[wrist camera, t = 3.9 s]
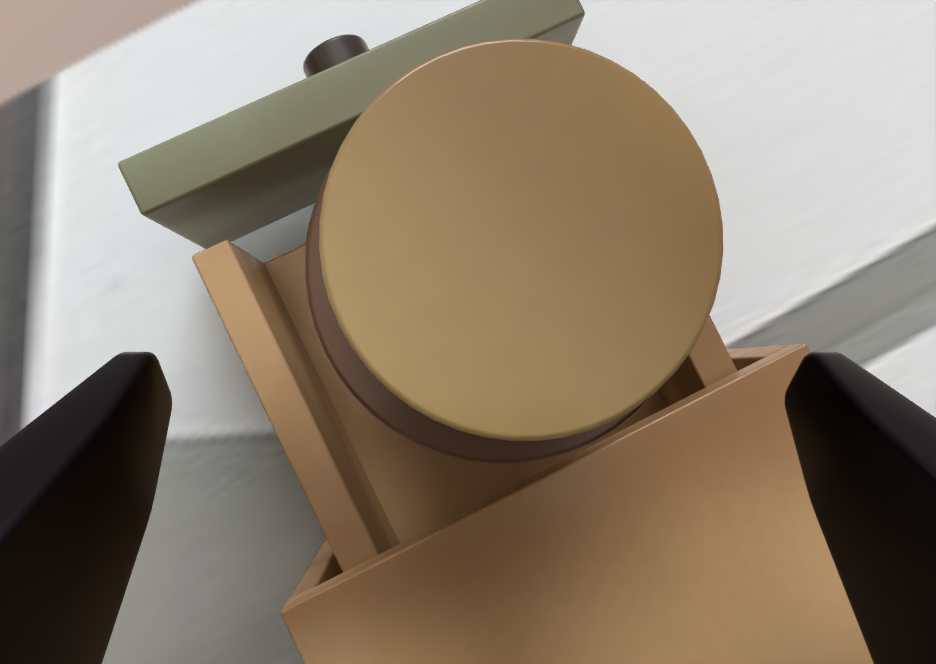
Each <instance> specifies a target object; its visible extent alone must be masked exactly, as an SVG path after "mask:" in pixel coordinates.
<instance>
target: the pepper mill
mask: <svg viewBox="0 0 936 664" xmlns="http://www.w3.org/2000/svg"><path fill="white" fill-rule="evenodd" d="M722 256H723V225H722V218H721V211H720V205H719V199H718V195H717V192H716V188H715V185H714V181H713V178H712V174H711V172H710V170H709V167H708V165H707V163H706V160H705V158H704V156H703V153H702V151H701V149H700V148H699V146H698V144H697V142H696V141H695V139H694V137H693V136H692V134H691V132H690V131H689V129H688V127H687V126H686V125H685V124H684V122H683V121H682V120H681V118H680V117H679V116H678V114H677V113H676V112H675V111H674V109H673V108H672V107H671V106H670V105H669V104H668V103H667V102H666V101H665V100H664V99H663V98H662V97H661V96H660V95H659V94H658V93H657V92H656V91H655V90H654V89H653V88H651V87H650V86H649V85H648V84H646V83H645V82H644V81H642V80H641V79H640V78H639V77H637V76H636V75H635V74H633V73H632V72H630V71H628V70H627V69H625V68H623V67H622V66H620V65H618V64H617V63H615V62H613V61H611V60H609V59H607V58H605V57H602V56H600V55H598V54H595V53H593V52H591V51H588V50H585V49H582V48H578V47H575V46H572V45H568V44H565V43H560V42H554V41H547V40H541V39H523V38H508V39H498V40H488V41H482V42H478V43H474V44H469V45H465V46H461V47H458V48H455V49H453V50H450V51H447V52H445V53H442V54H439V55H437V56H435V57H433V58H431V59H429V60H427V61H425V62H423V63H422V64H420V65H418V66H416V67H414V68H412V69H411V70H409V71H408V72H407V73H405V74H404V75H402V76H401V77H400V78H398V79H397V80H395V81H394V82H393V83H391V84H390V85H389V86H388V87H387V88H386V89H385V90H384V91H383V92H382V93H380V94H379V95H378V96H377V97H376V98H375V99H374V100H373V101H372V102H371V103H370V104H369V106H368V107H367V108H366V109H365V111H364V112H363V113H362V114H361V116H360V117H359V118H358V119H357V120H356V122H355V123H354V125H353V126H352V128H351V130H350V131H349V133H348V135H347V136H346V138H345V140H344V141H343V143H342V144H341V147H340V149H339V151H338V153H337V156H336V158H335V160H334V163H333V165H332V167H331V169H330V171H329V173H328V174H327V176H326V178H325V181H324V183H323V185H322V187H321V190H320V192H319V194H318V196H317V199H316V202H315V205H314V209H313V212H312V216H311V219H310V222H309V227H308V234H307V241H306V247H305V282H306V291H307V299H308V305H309V309H310V312H311V316H312V320H313V324H314V328H315V330H316V333H317V335H318V338H319V340H320V343H321V345H322V348H323V350H324V352H325V354H326V356H327V358H328V359H329V361H330V363H331V365H332V366H333V368H334V370H335V372H336V373H337V375H338V376H339V378H340V379H341V380H342V382H343V383H344V384H345V386H346V387H347V388H348V390H349V391H350V392H351V393H352V395H353V396H354V397H355V398H356V399H357V400H358V401H359V402H360V403H361V404H362V405H363V406H364V407H365V408H366V409H367V410H368V411H369V412H370V413H371V414H372V415H373V416H374V417H376V418H377V419H378V420H380V421H381V422H382V423H383V424H385V425H386V426H387V427H389V428H390V429H391V430H393V431H394V432H396V433H398V434H399V435H401V436H403V437H405V438H406V439H408V440H410V441H412V442H413V443H415V444H417V445H420V446H422V447H424V448H427V449H429V450H432V451H434V452H436V453H439V454H442V455H446V456H450V457H453V458H457V459H461V460H465V461H471V462H479V463H487V464H521V463H528V462H535V461H542V460H547V459H550V458H554V457H557V456H561V455H564V454H568V453H571V452H573V451H575V450H578V449H580V448H582V447H585V446H587V445H589V444H592V443H594V442H595V441H597V440H599V439H600V438H602V437H604V436H605V435H607V434H609V433H610V432H612V431H614V430H615V429H616V428H618V427H619V426H620V425H621V424H623V423H624V422H625V421H626V420H628V419H629V418H630V417H632V416H633V415H634V414H635V413H636V412H637V411H638V410H639V409H640V408H641V407H642V406H643V405H644V404H645V403H646V402H647V401H648V400H649V399H650V398H651V397H652V395H653V394H654V393H655V392H656V391H658V390H659V389H660V388H661V387H662V386H663V385H664V383H665V382H666V381H667V380H668V379H669V378H670V377H671V376H672V375H673V374H674V373H675V372H676V371H677V370H678V368H679V367H680V366H681V364H682V363H683V362H684V360H685V359H686V357H687V356H688V355H689V353H690V352H691V351H692V349H693V347H694V345H695V344H696V342H697V340H698V338H699V336H700V335H701V333H702V331H703V329H704V327H705V325H706V322H707V320H708V317H709V314H710V312H711V309H712V307H713V304H714V301H715V297H716V293H717V288H718V284H719V280H720V275H721V265H722Z"/></svg>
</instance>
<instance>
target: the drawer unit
mask: <svg viewBox="0 0 936 664" xmlns="http://www.w3.org/2000/svg"><path fill="white" fill-rule="evenodd" d="M727 351H728V353H729V355H730V357H731V359H732V361H733V363H734V365H735V367H736V369H737V372H735V373H733V374H731V375H729V376H727V377H725V378H723V379H722V380H720V381H718V382H716V383H714V384H712V385H710V386H708V387H706V388H704V389H702V390H700V391H698V392H696V393H694V394H692V395H690V396H688V397H686V398H684V399H682V400H680V401H678V402H676V403H675V404H673V405H671V406H669V407H667V408H665V409H663V410H661V411H659V412H657V413H655V414H653V415H651V416H649V417H647V418H645V419H643V420H641V421H639V422H637V423H635V424H633V425H631V426H629V427H628V428H626V429H624V430H622V431H620V432H618V433H616V434H614V435H612V436H610V437H608V438H606V439H604V440H602V441H600V442H598V443H596V444H594V445H592V446H590V447H588V448H586V449H584V450H582V451H580V452H579V453H577V454H575V455H573V456H571V457H569V458H567V459H565V460H563V461H561V462H559V463H557V464H555V465H553V466H551V467H549V468H547V469H545V470H543V471H541V472H539V473H537V474H535V475H533V476H532V477H530V478H528V479H526V480H524V481H522V482H520V483H518V484H516V485H514V486H512V487H510V488H508V489H506V490H504V491H502V492H500V493H498V494H496V495H494V496H492V497H490V498H488V499H486V500H485V501H483V502H481V503H479V504H477V505H475V506H473V507H471V508H469V509H467V510H465V511H463V512H461V513H459V514H457V515H455V516H453V517H451V518H449V519H447V520H445V521H443V522H441V523H439V524H438V525H436V526H434V527H432V528H430V529H428V530H426V531H424V532H422V533H420V534H418V535H416V536H414V537H412V538H410V539H408V540H406V541H404V542H402V543H400V544H398V545H396V546H394V547H392V548H391V549H389V550H387V551H385V552H383V553H381V554H379V555H377V556H375V557H373V558H371V559H369V560H367V561H365V562H363V563H361V564H359V565H357V566H355V567H353V568H351V569H349V570H347V571H345V572H344V573H343V572H342V570H341V568H340V566H339V564H338V561H337V559H336V557H335V555H334V553H333V551H332V549H331V547H330V545H329V543H328V541H327V539H326V541H325V542H324V543H323V545H322V547H321V548H320V550H319V551H318V553H317V555H316V556H315V558H314V559H313V561H312V563H311V564H310V566H309V567H308V569H307V571H306V572H305V574H304V576H303V577H302V579H301V580H300V582H299V584H298V585H297V587H296V588H295V590H294V592H293V593H292V595H291V597H290V598H289V600H288V601H287V603H286V604H285V606H284V607H283V609H282V611H281V616H282V618H283V620H284V622H285V624H286V626H287V628H288V631H289V633H290V635H291V637H292V639H293V641H294V643H295V645H296V647H297V649H298V652H299V654H300V656H301V658H302V660H303V662H304V664H874V663H873V661H872V658H871V656H870V653H869V650H868V648H867V645H866V643H865V640H864V638H863V635H862V633H861V630H860V627H859V625H858V622H857V620H856V617H855V615H854V612H853V610H852V607H851V604H850V602H849V599H848V597H847V594H846V592H845V589H844V587H843V584H842V581H841V579H840V576H839V574H838V571H837V569H836V566H835V564H834V561H833V558H832V556H831V553H830V551H829V548H828V546H827V543H826V541H825V538H824V535H823V533H822V530H821V528H820V525H819V523H818V520H817V518H816V515H815V512H814V509H813V506H812V504H811V501H810V498H809V494H808V491H807V488H806V484H805V480H804V477H803V473H802V469H801V465H800V462H799V458H798V454H797V450H796V447H795V443H794V439H793V435H792V432H791V428H790V424H789V420H788V417H787V413H786V409H785V402H784V400H785V393H786V390H787V388H788V386H789V384H790V382H791V380H792V378H793V376H794V374H795V372H796V370H797V369H798V367H799V365H800V363H801V361H802V359H803V358H804V356H806V355H807V354H808V353H810V350H809V348H808V346H807V344H792V345H779V346H765V347H751V348H736V349H727Z"/></svg>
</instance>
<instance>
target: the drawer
mask: <svg viewBox="0 0 936 664" xmlns="http://www.w3.org/2000/svg"><path fill="white" fill-rule="evenodd" d="M584 15H585V13H584V9H583V7H582V5H581V3H580V1H579V0H480V1H478V2H476V3H474V4H471V5H469V6H467V7H465V8H463V9H460V10H458V11H456V12H454V13H451V14H449V15H447V16H445V17H442V18H440V19H438V20H436V21H433V22H431V23H429V24H427V25H425V26H422V27H420V28H418V29H416V30H413V31H411V32H409V33H407V34H404V35H402V36H400V37H398V38H395V39H393V40H391V41H389V42H386V43H384V44H382V45H380V46H378V47H375V48H373V49H371V50H369V49H368V47H367V44H366V42H365V41H364V40H363V39H362V38H361V37H359V36H356V35H341V36H337V37H334V38H332V39H329V40H327V41H325V42H323V43H321V44H320V45H318V46H317V47H316V48H314V49H313V50H312V51H311V52H310V53H309V54H308V56H307V57H306V59H305V61H304V65H303V68H304V73H305V75H306V77H307V78H306V79H304V80H302V81H299V82H297V83H295V84H293V85H290V86H288V87H286V88H284V89H281V90H279V91H277V92H275V93H272V94H270V95H268V96H266V97H264V98H261V99H259V100H257V101H255V102H252V103H250V104H248V105H246V106H243V107H241V108H239V109H237V110H234V111H232V112H230V113H228V114H226V115H223V116H221V117H219V118H217V119H214V120H212V121H210V122H208V123H205V124H203V125H201V126H199V127H196V128H194V129H192V130H190V131H187V132H185V133H183V134H181V135H179V136H176V137H174V138H172V139H170V140H167V141H165V142H163V143H161V144H158V145H156V146H154V147H152V148H149V149H147V150H145V151H143V152H141V153H138V154H136V155H134V156H132V157H129V158H127V159H125V160H123V161H120V162H119V163H118V166H119V169H120V171H121V173H122V175H123V177H124V179H125V181H126V183H127V185H128V187H129V190H130V192H131V194H132V196H133V198H134V200H135V202H136V204H137V206H138V208H139V210H140V213H141V214H142V215H144V216H145V217H147V218H149V219H151V220H153V221H155V222H157V223H158V224H160V225H162V226H164V227H166V228H168V229H170V230H171V231H173V232H175V233H177V234H179V235H181V236H183V237H185V238H186V239H188V240H190V241H192V242H194V243H196V244H198V245H199V246H201V247H203V248H205V249H206V250H204V251H201V252H199V253H197V254H195V255H193V256H192V259H193V261H194V264H195V266H196V268H197V270H198V272H199V274H200V276H201V278H202V280H203V282H204V284H205V286H206V289H207V291H208V293H209V295H210V297H211V299H212V301H213V303H214V305H215V307H216V309H217V311H218V314H219V316H220V318H221V320H222V322H223V324H224V326H225V328H226V330H227V332H228V334H229V336H230V339H231V341H232V343H233V345H234V347H235V349H236V351H237V353H238V355H239V357H240V359H241V361H242V364H243V366H244V368H245V370H246V372H247V374H248V376H249V378H250V380H251V382H252V384H253V386H254V389H255V391H256V393H257V395H258V397H259V399H260V401H261V403H262V405H263V407H264V409H265V411H266V414H267V416H268V418H269V420H270V422H271V424H272V426H273V428H274V430H275V432H276V434H277V436H278V439H279V441H280V443H281V445H282V447H283V449H284V451H285V453H286V455H287V457H288V459H289V461H290V464H291V466H292V468H293V470H294V472H295V474H296V476H297V478H298V480H299V482H300V484H301V486H302V489H303V491H304V493H305V495H306V497H307V499H308V501H309V503H310V505H311V507H312V509H313V511H314V514H315V516H316V518H317V520H318V522H319V524H320V526H321V528H322V530H323V532H324V534H325V536H326V539H327V541H328V543H329V545H330V547H331V549H332V551H333V553H334V555H335V557H336V559H337V561H338V564H339V566H340V568H341V570H342V572H343V573H344V572H345V571H347V570H349V569H351V568H353V567H355V566H357V565H359V564H361V563H363V562H365V561H367V560H369V559H371V558H373V557H375V556H377V555H379V554H381V553H383V552H385V551H387V550H389V549H391V548H392V547H394V546H396V545H398V544H400V543H402V542H404V541H406V540H408V539H410V538H412V537H414V536H416V535H418V534H420V533H422V532H424V531H426V530H428V529H430V528H432V527H434V526H436V525H438V524H439V523H441V522H443V521H445V520H447V519H449V518H451V517H453V516H455V515H457V514H459V513H461V512H463V511H465V510H467V509H469V508H471V507H473V506H475V505H477V504H479V503H481V502H483V501H485V500H486V499H488V498H490V497H492V496H494V495H496V494H498V493H500V492H502V491H504V490H506V489H508V488H510V487H512V486H514V485H516V484H518V483H520V482H522V481H524V480H526V479H528V478H530V477H532V476H533V475H535V474H537V473H539V472H541V471H543V470H545V469H547V468H549V467H551V466H553V465H555V464H557V463H559V462H561V461H563V460H565V459H567V458H569V457H571V456H573V455H575V454H577V453H579V452H580V451H582V450H584V449H586V448H588V447H590V446H592V445H594V444H596V443H598V442H600V441H602V440H604V439H606V438H608V437H610V436H612V435H614V434H616V433H618V432H620V431H622V430H624V429H626V428H628V427H629V426H631V425H633V424H635V423H637V422H639V421H641V420H643V419H645V418H647V417H649V416H651V415H653V414H655V413H657V412H659V411H661V410H663V409H665V408H667V407H669V406H671V405H673V404H675V403H676V402H678V401H680V400H682V399H684V398H686V397H688V396H690V395H692V394H694V393H696V392H698V391H700V390H702V389H704V388H706V387H708V386H710V385H712V384H714V383H716V382H718V381H720V380H722V379H723V378H725V377H727V376H729V375H731V374H733V373H735V372H737V369H736V367H735V365H734V363H733V361H732V359H731V357H730V355H729V353H728V351H727V349H726V347H725V345H724V343H723V341H722V339H721V337H720V335H719V333H718V331H717V329H716V327H715V325H714V323H713V321H712V319H711V317H710V315H709V317H708V320H707V322H706V325H705V327H704V329H703V331H702V333H701V335H700V336H699V338H698V340H697V342H696V344H695V345H694V347H693V349H692V351H691V352H690V353H689V355H688V356H687V357H686V359H685V360H684V362H683V363H682V364H681V366H680V367H679V368H678V370H677V371H676V372H675V373H674V374H673V375H672V376H671V377H670V378H669V379H668V380H667V381H666V382H665V383H664V385H663V386H662V387H661V388H660V389H659V390H658V391H656V392H655V393H654V394H653V395H652V397H651V398H650V399H649V400H648V401H647V402H646V403H645V404H644V405H643V406H642V407H641V408H640V409H639V410H638V411H637V412H636V413H635V414H634V415H633V416H632V417H630V418H629V419H628V420H626V421H625V422H624V423H623V424H621V425H620V426H619V427H618V428H616V429H615V430H614V431H612V432H610V433H609V434H607V435H605V436H604V437H602V438H600V439H599V440H597V441H595V442H594V443H592V444H589V445H587V446H585V447H582V448H580V449H578V450H575V451H573V452H571V453H568V454H564V455H561V456H557V457H554V458H550V459H547V460H542V461H535V462H528V463H521V464H487V463H479V462H471V461H465V460H461V459H457V458H453V457H450V456H446V455H442V454H439V453H436V452H434V451H432V450H429V449H427V448H424V447H422V446H420V445H417V444H415V443H413V442H412V441H410V440H408V439H406V438H405V437H403V436H401V435H399V434H398V433H396V432H394V431H393V430H391V429H390V428H389V427H387V426H386V425H385V424H383V423H382V422H381V421H380V420H378V419H377V418H376V417H374V416H373V415H372V414H371V413H370V412H369V411H368V410H367V409H366V408H365V407H364V406H363V405H362V404H361V403H360V402H359V401H358V400H357V399H356V398H355V397H354V396H353V395H352V393H351V392H350V391H349V390H348V388H347V387H346V386H345V384H344V383H343V382H342V380H341V379H340V378H339V376H338V375H337V373H336V372H335V370H334V368H333V366H332V365H331V363H330V361H329V359H328V358H327V356H326V354H325V352H324V350H323V348H322V345H321V343H320V340H319V338H318V335H317V333H316V330H315V328H314V324H313V320H312V316H311V312H310V309H309V305H308V299H307V291H306V282H305V247H306V244H305V245H303V246H301V247H298V248H296V249H294V250H292V251H290V252H288V253H286V254H283V255H281V256H279V257H277V258H275V259H273V260H271V261H269V262H266V263H262V262H261V261H259V260H258V259H256V258H254V257H253V256H251V255H250V254H248V253H247V252H245V251H243V250H242V249H240V248H239V247H237V246H236V245H234V244H232V243H231V241H234V240H236V239H238V238H240V237H242V236H244V235H246V234H249V233H251V232H253V231H255V230H257V229H259V228H262V227H264V226H266V225H268V224H270V223H272V222H275V221H277V220H279V219H281V218H283V217H285V216H288V215H290V214H292V213H294V212H296V211H298V210H300V209H303V208H305V207H307V206H309V205H311V204H313V203H315V202H316V199H317V196H318V194H319V192H320V190H321V187H322V185H323V183H324V181H325V178H326V176H327V174H328V173H329V171H330V169H331V167H332V165H333V163H334V160H335V158H336V156H337V153H338V151H339V149H340V147H341V144H342V143H343V141H344V140H345V138H346V136H347V135H348V133H349V131H350V130H351V128H352V126H353V125H354V123H355V122H356V120H357V119H358V118H359V117H360V116H361V114H362V113H363V112H364V111H365V109H366V108H367V107H368V106H369V104H370V103H371V102H372V101H373V100H374V99H375V98H376V97H377V96H378V95H379V94H380V93H382V92H383V91H384V90H385V89H386V88H387V87H388V86H389V85H390V84H391V83H393V82H394V81H395V80H397V79H398V78H400V77H401V76H402V75H404V74H405V73H407V72H408V71H409V70H411V69H412V68H414V67H416V66H418V65H420V64H422V63H423V62H425V61H427V60H429V59H431V58H433V57H435V56H437V55H439V54H442V53H445V52H447V51H450V50H453V49H455V48H458V47H461V46H465V45H469V44H474V43H478V42H482V41H488V40H498V39H508V38H523V39H541V40H547V41H554V42H560V43H565V44H568V45H572V43H573V40H574V38H575V36H576V33H577V31H578V29H579V26H580V24H581V22H582V20H583V17H584Z"/></svg>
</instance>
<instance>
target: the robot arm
mask: <svg viewBox="0 0 936 664" xmlns="http://www.w3.org/2000/svg"><path fill="white" fill-rule="evenodd" d="M784 402H785V409H786V413H787V417H788V420H789V424H790V428H791V432H792V435H793V439H794V443H795V447H796V450H797V454H798V458H799V462H800V465H801V469H802V473H803V477H804V480H805V484H806V488H807V491H808V494H809V498H810V501H811V504H812V506H813V509H814V512H815V515H816V518H817V520H818V523H819V525H820V528H821V530H822V533H823V535H824V538H825V541H826V543H827V546H828V548H829V551H830V553H831V556H832V558H833V561H834V564H835V566H836V569H837V571H838V574H839V576H840V579H841V581H842V584H843V587H844V589H845V592H846V594H847V597H848V599H849V602H850V604H851V607H852V610H853V612H854V615H855V617H856V620H857V622H858V625H859V627H860V630H861V633H862V635H863V638H864V640H865V643H866V645H867V648H868V650H869V653H870V656H871V658H872V661H873V663H874V664H936V418H935V417H934V416H932V415H931V414H929V413H928V412H926V411H925V410H923V409H922V408H921V407H919V406H918V405H916V404H915V403H913V402H912V401H910V400H909V399H907V398H906V397H904V396H903V395H901V394H900V393H899V392H897V391H896V390H894V389H893V388H891V387H890V386H888V385H887V384H885V383H884V382H882V381H881V380H879V379H878V378H877V377H875V376H874V375H872V374H871V373H869V372H868V371H866V370H865V369H863V368H862V367H860V366H859V365H857V364H856V363H855V362H853V361H852V360H850V359H849V358H847V357H846V356H844V355H842V354H841V353H838V352H810V353H808V354H807V355H806V356H804V358H803V359H802V361H801V363H800V365H799V367H798V369H797V370H796V372H795V374H794V376H793V378H792V380H791V382H790V384H789V386H788V388H787V390H786V393H785V400H784ZM171 410H172V397H171V392H170V390H169V387H168V384H167V382H166V379H165V377H164V374H163V371H162V369H161V366H160V364H159V361H158V359H157V357H156V356H155V355H154V354H153V353H150V352H123V353H120V354H118V355H116V356H115V357H114V358H112V359H111V360H110V361H109V362H107V363H106V364H105V365H103V366H102V367H101V368H100V369H98V370H97V371H96V372H95V373H93V374H92V375H91V376H89V377H88V378H87V379H86V380H84V381H83V382H82V383H81V384H79V385H78V386H77V387H76V388H74V389H73V390H72V391H70V392H69V393H68V394H67V395H65V396H64V397H63V398H62V399H60V400H59V401H58V402H56V403H55V404H54V405H53V406H51V407H50V408H49V409H48V410H46V411H45V412H44V413H42V414H41V415H40V416H39V417H37V418H36V419H35V420H34V421H32V422H31V423H30V424H28V425H27V426H26V427H25V428H23V429H22V430H21V431H20V432H18V433H17V434H16V435H14V436H13V437H12V438H11V439H9V440H8V441H7V442H6V443H4V444H3V445H2V446H0V664H102V661H103V658H104V655H105V652H106V649H107V646H108V643H109V640H110V637H111V634H112V631H113V628H114V625H115V621H116V618H117V615H118V612H119V609H120V606H121V603H122V600H123V597H124V594H125V591H126V588H127V585H128V582H129V579H130V576H131V573H132V570H133V566H134V563H135V560H136V557H137V554H138V551H139V548H140V545H141V542H142V539H143V536H144V533H145V530H146V527H147V523H148V520H149V517H150V513H151V510H152V505H153V501H154V496H155V492H156V487H157V482H158V477H159V472H160V466H161V461H162V456H163V451H164V446H165V441H166V436H167V431H168V426H169V421H170V416H171Z"/></svg>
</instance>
